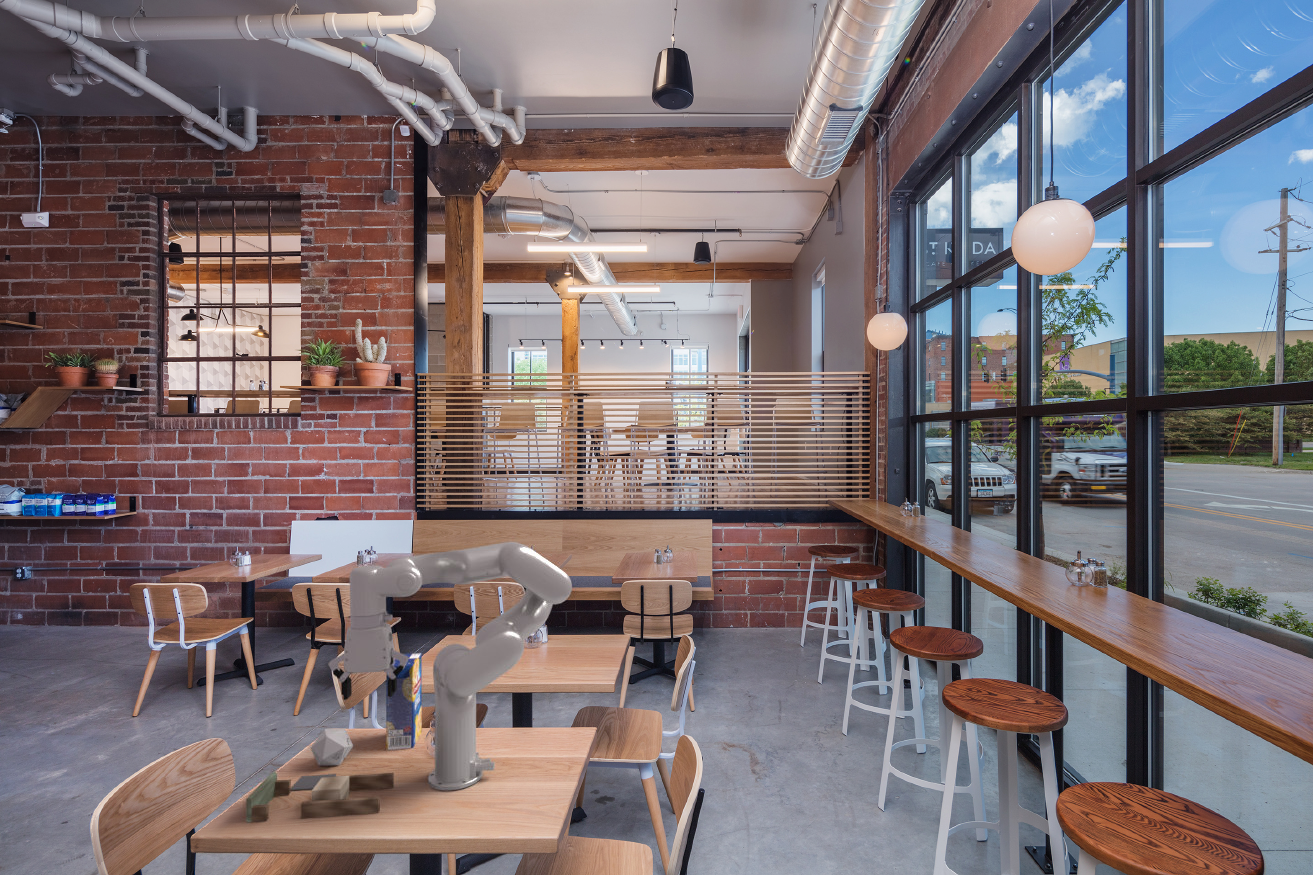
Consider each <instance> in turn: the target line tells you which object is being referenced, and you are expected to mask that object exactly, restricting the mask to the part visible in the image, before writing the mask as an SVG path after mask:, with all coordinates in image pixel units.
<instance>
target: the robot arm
mask: <svg viewBox="0 0 1313 875" xmlns="http://www.w3.org/2000/svg"><path fill="white" fill-rule="evenodd" d="M505 577H509V578H511V579H512V580H514V581H515V582H516V583H517V584H519V585H521V586H522V587H523V588H525V591H524V594H523V596H522V598H520V600H519V601H518V603H516V604H515V605H514V606H512V607H511V608H509V609H508V610H506V611H505V612H503V613H502V614H499V616H497V617H496V618H494V619H492V620H491V621H489V622H488V623H485V625H483V626H482V627H481V628H480V629H478V631H477V633H476V636H475V640H474V641H475V642H474V643H475V646H474V647H472V648H471V649H470V648H469V647H467V646H465V645H463V644H460V643H451V644H448V645H446V646H444V647H443V648H442V649H440V650H439V652H438V653H437V654H436V656H435V658H434V661H433V667H432V674H433V676H432V677H433V688H434V769H433V770H432V771H431V772H430V773H428V777H427V780H428V782H427V783H428V785H429V786H430V787H431V788H433V789H435V790H438V791H439V790H440V791H456V790H462V789H464V788H468V787H470V786H472V785H474V784H476V783H478V782H479V780H481V779H482V777H483V772H484V771H487V772H488V771H489V772H490V771H495V764H496V762H495V761H492V758H491V757H490V758H489V757H488V758H481V757H480V753H479V752H477V695H476V694H477V693H478V692H480V691H481V690H483V689H484V688H486V687H487V686H488V685H490V684H491V683H493V682H494V681H496V680H497V679H499V678H500V677H501V676H503V675H505V674H506V673H507V672H508V671H510V670H512V668H514V667H515V665H517V664H518V662H519V661H520V659H521V658H522V656H523V654H524V651H525V640H527V639H528V638H529V637H530V636H531V635H533V634H534V633H535V632H536V631H538V630H539V629H541V627H542V626H543V625H544V624H545V623H546V621H547V619H548V618H549V615H550V614H551V611H552V608H553V605H559V604H562V603H563V602H565V601H566V600H568V598H569V597H570V595H571V593H572V589H573V585H572V583H573V582H572V580H571V577H570V576H569V575H568V574H567V573H566V572H565V571H563V569H561V568H559V567H557V565H555V564H553V563H552V562H550V561H549V560H548V559H547V558H545V557H543V556H542V555H540V554H539V553H538V552H537V551H536V550H534V549H532V548H531V547H530V546H528V545H525V544H522V543H519V542H516V541H507V542H500V543H494V544H489V545H483V546H478V547H472V548H464V549H457V550H456V549H455V550H448V551H439V552H432V553H425V554H418V555H413V556H407V557H406V556H405V557H402V558H397V559H394V560H392V561H391V562H390V563H388V564H387V565H386V567H383V566H381V565H374V564H373V565H363V566H357V567H354V568H353V569H352V570H351V572H350V573H349V610H350V611H349V613H350V614H349V615H350V619H349V620H350V621H349V622H350V623H349V624H350V626H349V627H348V628H347V630H346V634H345V635H346V636H345V640H344V642H345V643H344V648H343V649H344V650H343V651H344V652H343V654H340V655H339V656H337V657H336V658H334V659H332V660H331V661H329V662H328V667H329V668H330V670H331V672H332V675H333V676H334V677H336V678H337V679H338V681H339V683H340V685H341V689H340V690H341V691H340V692H341V695H342V696H343V697H342V698H343V700H344V701H347V700H348V699H350V697H351V696H352V692H353V691H352V690H353V687H352V678H351V677H350V676H351V674H365V673H380V672H384V673H385V674H387V675H388V676H389V679H388V697H392V695H393V694H394V693H395V692H396V690H397V675H398V674H399V673H400V672H401V671H402V670H403V669H404V667H405V665H406V663H407V661H408V659H409V657H408V656H406V655H404V654H405V653H401V652H399V651H397V650H395V644H394V637H393V632H392V627H391V624H390V623H388V622H390V621H393V614H389V613H388V611H387V598H388V597H390V598H391V597H392V598H405V597H410V596H412V595H415V594H416V593H417V592H418V591H419V590H420V588H421V587H422V585H429V584H437V583H438V584H439V583H440V584H441V583H443V584H444V583H445V584H446V583H447V584H453V585H470V584H475V583H480V582H484V581H489V580H494V579H495V580H496V579H501V578H505ZM395 659H397V660H399V661H400V664H399V666H398V667H397V669H396V668H395V667H394V666H393V665H392V664H393V663H394V660H395ZM342 662H343V669H342V668H340V666H339V664H340V663H342Z"/></svg>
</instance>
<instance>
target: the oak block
mask: <svg viewBox="0 0 1313 875" xmlns="http://www.w3.org/2000/svg"><path fill="white" fill-rule="evenodd" d="M338 776H339V777H326V778H321V779H320V781H319V782H318V783H317V785H316V786H315V787H314V788H313V790H311V801H323V800H337V799H349V798H348V797H349V796H350V791H349V776H350V775H338Z"/></svg>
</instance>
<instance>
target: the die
mask: <svg viewBox="0 0 1313 875" xmlns="http://www.w3.org/2000/svg"><path fill="white" fill-rule="evenodd" d="M353 748H354V744H353V743H352V740H351V738H350V735H349V733H348V731H347V729H346V728H324V729H323V731H322V732H321V733H320V735H319V736H317V739H316V740H315V741H314V742H313V744H312V745H311V746H310V750H311V752H312V754H313V757H314V758H315V762H316V763H317V765H318V766H319V767H322V766H323V767H324V766H327V767H328V766H340V765H342V762H343V761H344V760H345V758H346V757H347V756H348V755H349V753H350V751H351V750H352V749H353Z"/></svg>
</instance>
